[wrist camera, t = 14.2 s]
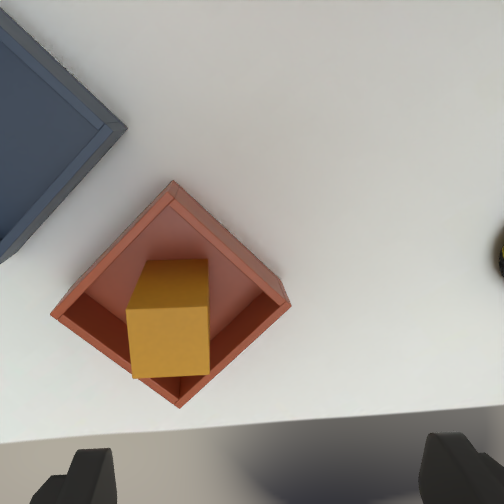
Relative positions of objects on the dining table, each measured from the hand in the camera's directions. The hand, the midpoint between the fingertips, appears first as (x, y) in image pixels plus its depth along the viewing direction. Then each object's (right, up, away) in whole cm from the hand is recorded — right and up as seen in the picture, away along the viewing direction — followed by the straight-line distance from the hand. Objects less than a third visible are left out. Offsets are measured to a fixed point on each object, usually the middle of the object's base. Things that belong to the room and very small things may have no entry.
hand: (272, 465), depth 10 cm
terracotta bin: (-6, +3, +21) cm, 22 cm away
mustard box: (-6, +3, +21) cm, 22 cm away
